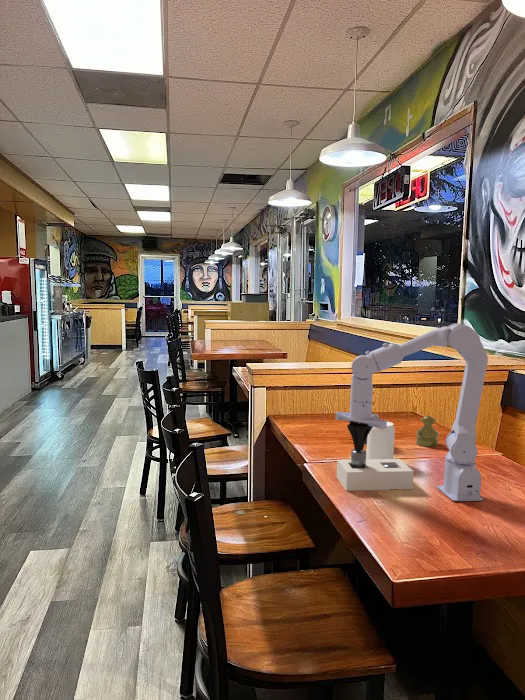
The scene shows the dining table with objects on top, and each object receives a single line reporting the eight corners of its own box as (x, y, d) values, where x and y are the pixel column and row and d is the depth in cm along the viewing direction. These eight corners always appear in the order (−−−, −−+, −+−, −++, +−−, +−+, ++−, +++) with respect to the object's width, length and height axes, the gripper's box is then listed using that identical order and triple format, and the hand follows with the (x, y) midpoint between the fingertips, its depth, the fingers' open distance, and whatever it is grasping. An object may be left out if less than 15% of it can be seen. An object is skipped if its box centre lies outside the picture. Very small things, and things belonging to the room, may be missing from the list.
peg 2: (399, 483, 135) (400, 467, 134) (385, 483, 134) (385, 467, 134) (393, 478, 139) (394, 462, 138) (379, 478, 138) (380, 462, 138)
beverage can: (393, 458, 158) (395, 421, 156) (392, 466, 150) (395, 427, 149) (367, 455, 160) (368, 418, 158) (365, 463, 152) (367, 424, 151)
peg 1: (367, 469, 133) (368, 453, 133) (353, 469, 133) (353, 453, 132) (363, 464, 137) (363, 448, 137) (348, 464, 137) (349, 448, 136)
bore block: (412, 489, 132) (413, 471, 132) (346, 490, 130) (347, 472, 130) (398, 475, 142) (399, 458, 141) (336, 477, 140) (337, 459, 140)
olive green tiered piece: (416, 446, 171) (418, 417, 170) (415, 440, 179) (416, 413, 177) (439, 448, 170) (441, 419, 169) (436, 442, 177) (438, 414, 176)
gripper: (393, 402, 131) (390, 453, 133) (346, 394, 141) (344, 441, 142) (380, 406, 126) (377, 458, 128) (332, 397, 136) (330, 446, 137)
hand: (358, 450), depth 135 cm, fingers closed
